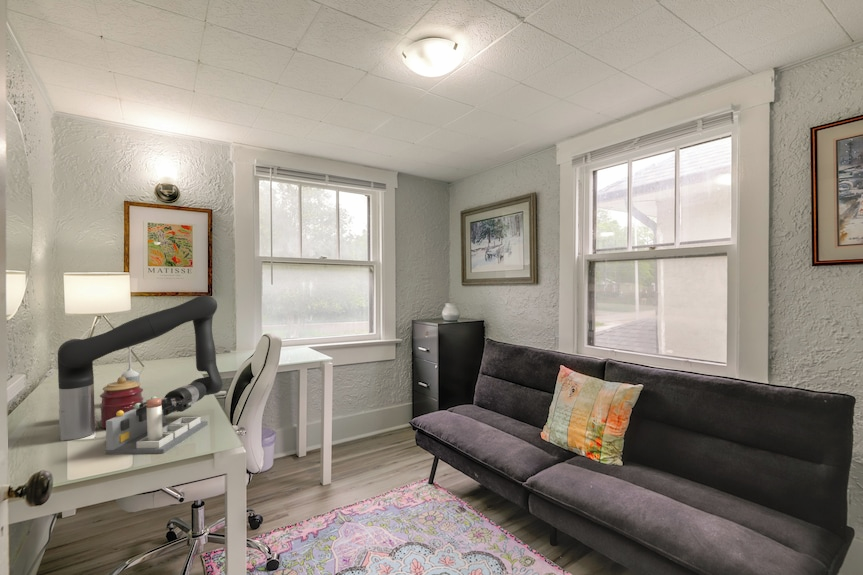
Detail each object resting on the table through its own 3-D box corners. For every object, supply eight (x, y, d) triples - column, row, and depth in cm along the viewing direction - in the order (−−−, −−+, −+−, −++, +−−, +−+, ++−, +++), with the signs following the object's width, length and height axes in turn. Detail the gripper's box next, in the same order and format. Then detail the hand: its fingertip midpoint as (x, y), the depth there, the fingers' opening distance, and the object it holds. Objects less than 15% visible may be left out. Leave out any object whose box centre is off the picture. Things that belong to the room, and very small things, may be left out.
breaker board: (163, 453, 127) (162, 414, 127) (105, 453, 127) (104, 415, 127) (207, 424, 152) (206, 392, 152) (158, 425, 152) (158, 392, 152)
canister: (120, 431, 146) (119, 381, 146) (91, 428, 149) (89, 380, 149) (152, 418, 159) (151, 373, 159) (124, 417, 162) (123, 372, 162)
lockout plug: (149, 447, 129) (147, 402, 128) (146, 443, 131) (145, 400, 131) (164, 443, 131) (162, 399, 131) (161, 440, 134) (159, 397, 134)
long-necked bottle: (131, 406, 175) (129, 348, 174) (114, 406, 176) (112, 348, 176) (147, 401, 183) (145, 345, 183) (130, 400, 184) (129, 345, 184)
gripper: (161, 387, 146) (127, 401, 129) (201, 387, 146) (173, 400, 129) (162, 408, 146) (128, 424, 130) (202, 408, 146) (173, 424, 130)
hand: (150, 412), depth 129 cm, fingers open, 8 cm apart
